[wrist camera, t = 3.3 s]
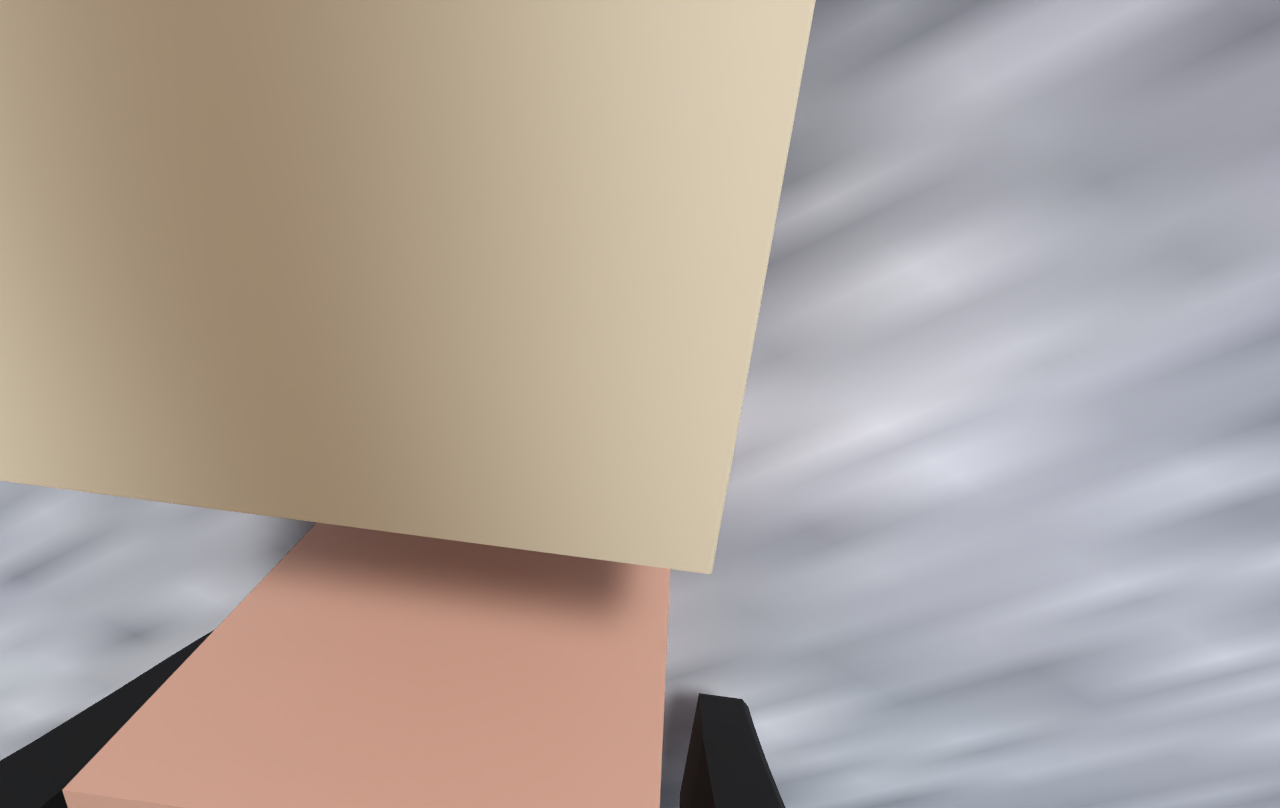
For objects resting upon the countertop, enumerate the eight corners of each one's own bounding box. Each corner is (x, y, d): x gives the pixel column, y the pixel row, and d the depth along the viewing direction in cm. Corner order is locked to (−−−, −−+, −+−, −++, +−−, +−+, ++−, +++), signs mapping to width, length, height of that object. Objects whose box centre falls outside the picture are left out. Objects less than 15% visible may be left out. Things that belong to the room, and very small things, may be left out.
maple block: (768, -110, 7) (920, -577, 2) (699, 344, 9) (709, 574, 4) (300, -160, 7) (-423, -700, 2) (333, 299, 9) (-41, 475, 4)
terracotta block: (671, 533, 10) (657, 875, 5) (637, 767, 12) (603, 1166, 7) (346, 490, 10) (62, 789, 6) (364, 729, 12) (163, 1099, 7)
